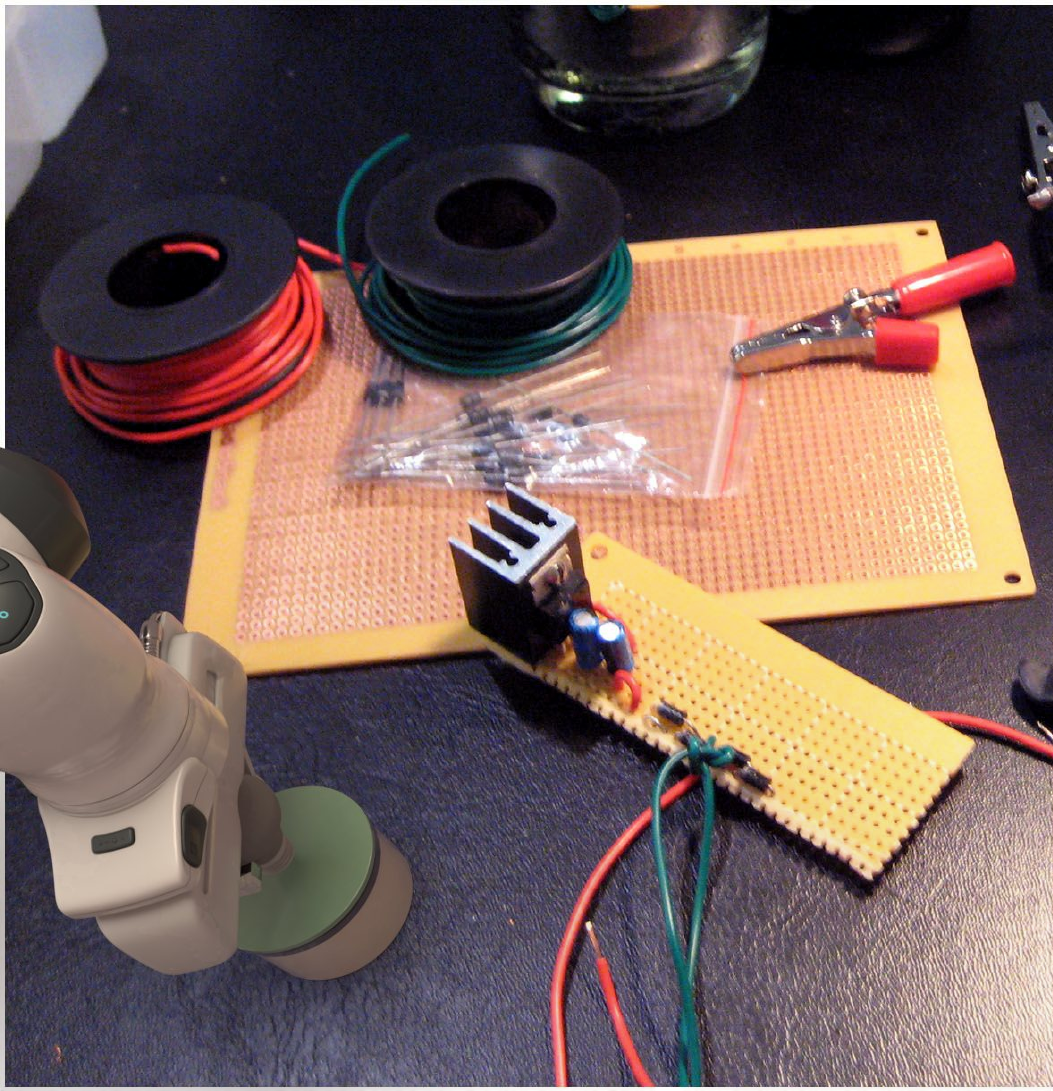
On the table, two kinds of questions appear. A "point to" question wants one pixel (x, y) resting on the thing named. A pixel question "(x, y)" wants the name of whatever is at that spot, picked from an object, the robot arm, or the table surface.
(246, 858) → the light bulb
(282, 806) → the pot
